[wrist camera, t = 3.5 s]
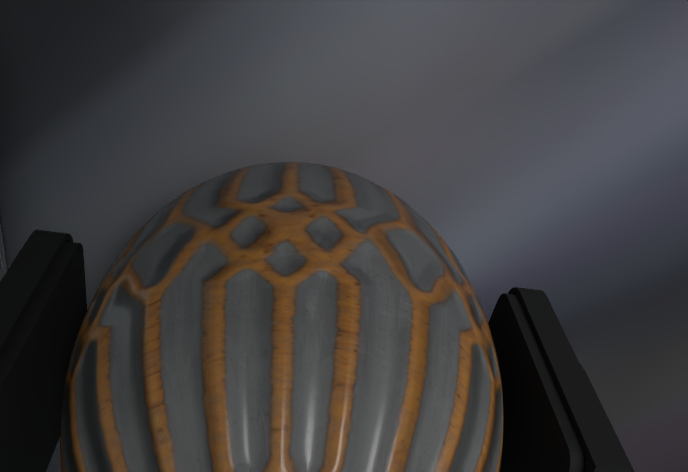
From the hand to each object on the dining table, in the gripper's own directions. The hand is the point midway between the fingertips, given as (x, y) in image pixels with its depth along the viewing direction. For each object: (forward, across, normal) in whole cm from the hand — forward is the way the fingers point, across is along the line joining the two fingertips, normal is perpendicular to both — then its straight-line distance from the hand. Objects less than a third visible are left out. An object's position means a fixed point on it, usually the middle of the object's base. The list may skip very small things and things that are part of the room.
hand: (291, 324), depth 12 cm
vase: (+2, 0, 0) cm, 2 cm away
